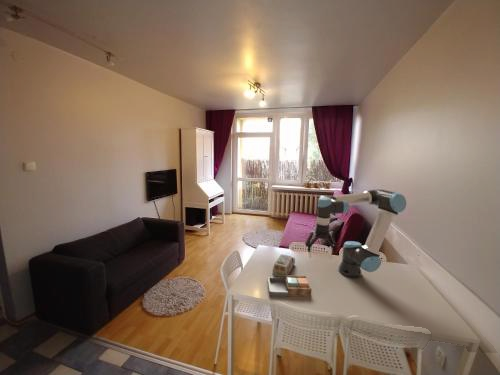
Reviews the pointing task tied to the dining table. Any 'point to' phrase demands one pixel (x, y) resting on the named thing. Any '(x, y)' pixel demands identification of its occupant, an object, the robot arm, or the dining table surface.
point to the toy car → (283, 265)
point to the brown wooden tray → (297, 288)
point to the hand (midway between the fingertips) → (319, 257)
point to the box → (277, 287)
